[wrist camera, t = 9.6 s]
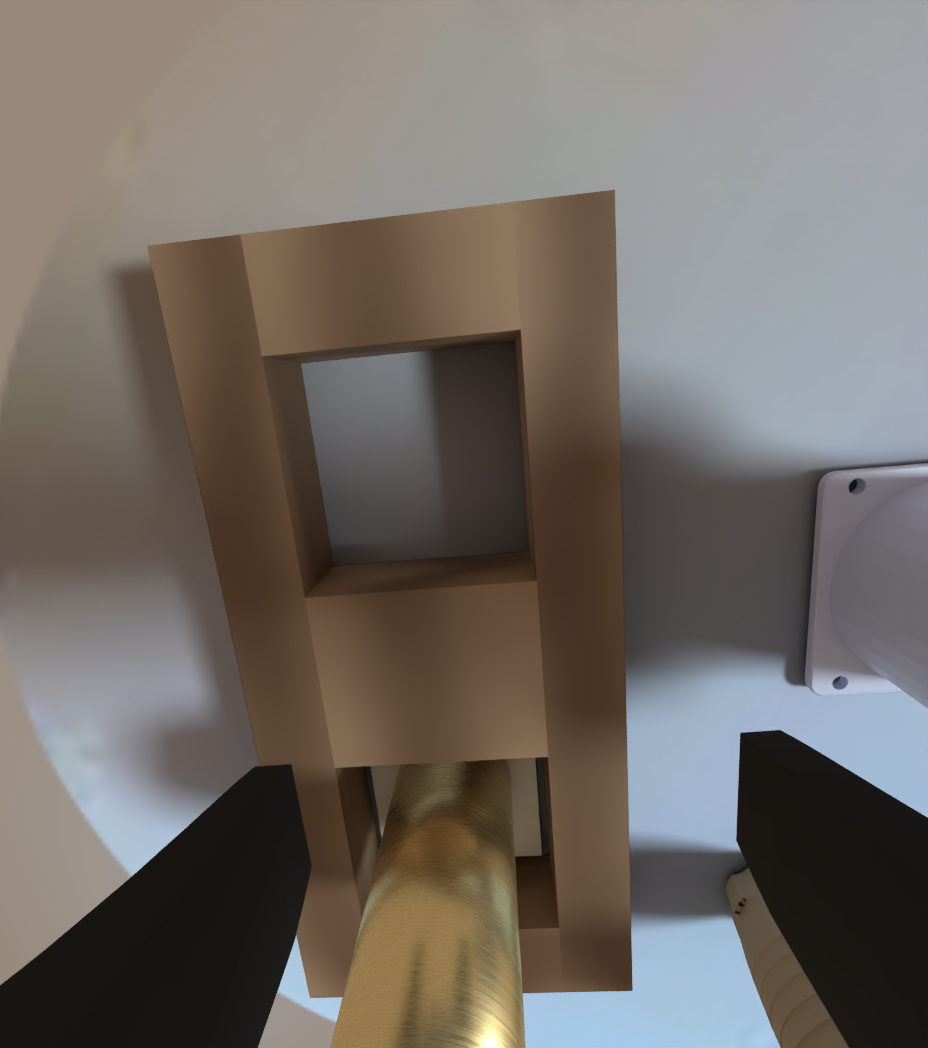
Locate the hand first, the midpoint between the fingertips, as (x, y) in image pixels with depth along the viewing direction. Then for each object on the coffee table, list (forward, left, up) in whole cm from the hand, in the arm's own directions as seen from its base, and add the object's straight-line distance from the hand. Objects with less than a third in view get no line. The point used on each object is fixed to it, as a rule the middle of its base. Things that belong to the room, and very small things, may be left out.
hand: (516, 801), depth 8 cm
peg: (+2, +8, -10) cm, 13 cm away
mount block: (+2, +2, -10) cm, 11 cm away
